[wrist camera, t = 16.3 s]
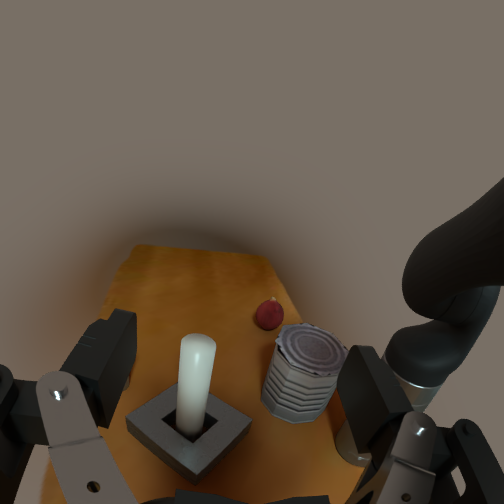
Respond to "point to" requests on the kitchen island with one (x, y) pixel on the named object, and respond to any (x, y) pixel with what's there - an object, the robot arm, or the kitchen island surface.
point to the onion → (270, 314)
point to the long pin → (193, 384)
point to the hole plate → (179, 448)
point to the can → (302, 373)
